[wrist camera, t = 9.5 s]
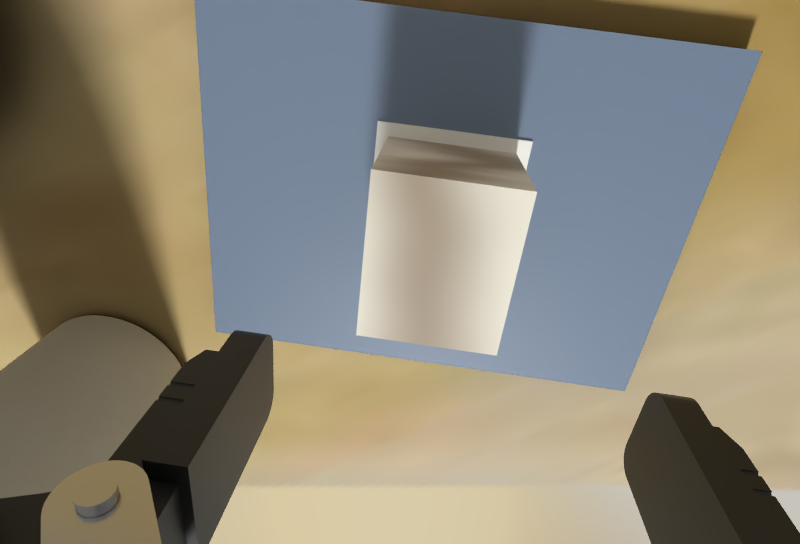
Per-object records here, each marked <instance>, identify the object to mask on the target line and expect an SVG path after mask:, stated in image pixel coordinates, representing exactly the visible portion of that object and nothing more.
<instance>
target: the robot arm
mask: <svg viewBox="0 0 800 544" xmlns="http://www.w3.org/2000/svg"><path fill="white" fill-rule="evenodd" d="M273 390H274V386H273V340H272V337H271V335H267V334H261V333H254V332H247V331H240V330H235V331H234V332H233V333H232V334H231V335H230V337H229V338H228V339H227V341H226V342H225V344H224V345H223V346H222V348H221V349H220V351H219V352H218V351H211V350H205V351H203V352H202V353H200V354H199V355H197V356H195V357H194V358H192V359H191V360H189V361H188V362H186V363H184V365H183V366H182V367H181V368H180V370H179V371H178V372H177V374H176V375H175V376H174V377H173V379H172V380H171V382H170V385H167V386H166V388H165V389H164V390H163V391H162V393H161V394H160V395H159V398H158V400H155V401H154V403H153V404H152V405H151V407H150V408H149V409H148V410H147V412H146V413H145V414H144V415H143V417H142V418H141V419H140V421H139V422H138V423H137V424H136V426H135V427H134V428H133V429H132V431H131V432H130V433H129V434H128V436H127V437H126V438H125V440H124V441H123V442H122V443H121V445H120V446H119V447H118V448H117V450H116V451H115V452H114V454H113V455H112V456H111V457H110V458H109V460H108V461H104V462H99V463H95V464H92V465H89V466H87V467H84V468H82V469H80V470H78V471H76V472H75V473H73V474H71V475H70V476H68V477H67V478H65V479H64V480H63V481H62V482H60V483H59V484H58V485H57V486H56V487H55V488H54V489H53V491H52V492H46V493H40V494H32V495H24V496H16V497H8V498H0V544H209V542H210V540H211V538H212V536H213V534H214V531H215V530H216V527H217V525H218V523H219V521H220V519H221V517H222V515H223V512H224V510H225V508H226V506H227V504H228V502H229V499H230V498H231V495H232V493H233V491H234V489H235V487H236V485H237V483H238V481H239V478H240V476H241V474H242V472H243V470H244V468H245V466H246V464H247V461H248V459H249V457H250V455H251V453H252V451H253V449H254V447H255V444H256V442H257V440H258V438H259V436H260V434H261V432H262V430H263V427H264V425H265V423H266V421H267V419H268V416H269V413H270V410H271V405H272V400H273ZM624 469H625V474H626V477H627V480H628V483H629V485H630V488H631V491H632V493H633V496H634V498H635V501H636V504H637V506H638V509H639V512H640V515H641V517H642V520H643V522H644V525H645V528H646V531H647V533H648V536H649V539H650V541H651V544H800V533H799V532H798V530H797V529H796V527H795V526H794V524H793V523H792V521H791V520H790V518H789V517H788V515H787V514H786V512H785V511H784V509H783V508H782V506H781V505H780V503H779V502H778V501H777V499H776V497H774V496H772V495H771V492H772V491H771V490H770V488H769V487H768V485H767V484H766V482H765V481H764V479H763V478H762V477H761V476H758V471H757V469H756V468H755V466H754V465H753V463H752V462H751V460H750V459H749V457H748V456H747V454H746V453H745V451H744V450H743V448H741V447H740V446H739V445H738V444H737V443H736V442H735V441H734V440H733V439H731V438H730V437H729V436H728V435H727V434H726V433H725V432H724V431H723V430H721V429H720V428H719V427H713V426H712V425H711V423H710V422H709V420H708V418H707V417H706V415H705V414H704V412H703V411H702V409H701V407H700V406H699V404H698V403H697V402H696V401H695V400H694V399H692V398H688V397H681V396H675V395H668V394H661V393H651V394H650V395H649V396H648V397H647V399H646V401H645V403H644V405H643V408H642V410H641V412H640V414H639V417H638V419H637V421H636V424H635V426H634V428H633V431H632V433H631V435H630V437H629V440H628V442H627V444H626V448H625V452H624Z"/></svg>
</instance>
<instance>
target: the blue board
mask: <svg viewBox="0 0 800 544" xmlns="http://www.w3.org/2000/svg"><path fill="white" fill-rule="evenodd" d="M195 14H196V29H197V45H198V61H199V76H200V92H201V107H202V123H203V139H204V154H205V170H206V185H207V201H208V217H209V232H210V248H211V264H212V279H213V295H214V310H215V326H216V332H222V333H229V334H232V333H233V332H234V331H235V330H240V331H247V332H254V333H261V334H267V335H271V337H272V340H277V341H284V342H290V343H297V344H304V345H311V346H318V347H325V348H332V349H339V350H345V351H352V352H359V353H366V354H373V355H380V356H387V357H394V358H400V359H407V360H414V361H421V362H428V363H435V364H442V365H448V366H455V367H462V368H469V369H476V370H483V371H490V372H497V373H503V374H510V375H517V376H524V377H531V378H538V379H545V380H552V381H558V382H565V383H572V384H579V385H586V386H593V387H600V388H607V389H613V390H620V391H625V389H626V387H627V385H628V382H629V380H630V377H631V375H632V372H633V370H634V367H635V365H636V362H637V360H638V357H639V355H640V352H641V350H642V348H643V345H644V343H645V340H646V338H647V335H648V333H649V330H650V328H651V325H652V323H653V320H654V318H655V315H656V313H657V310H658V308H659V306H660V303H661V301H662V298H663V296H664V293H665V291H666V288H667V286H668V283H669V281H670V278H671V276H672V273H673V271H674V269H675V266H676V264H677V261H678V259H679V256H680V254H681V251H682V249H683V246H684V244H685V241H686V239H687V236H688V234H689V231H690V229H691V227H692V224H693V222H694V219H695V217H696V214H697V212H698V209H699V207H700V204H701V202H702V199H703V197H704V194H705V192H706V190H707V187H708V185H709V182H710V180H711V177H712V175H713V172H714V170H715V167H716V165H717V162H718V160H719V157H720V155H721V152H722V150H723V148H724V145H725V143H726V140H727V138H728V135H729V133H730V130H731V128H732V125H733V123H734V120H735V118H736V115H737V113H738V111H739V108H740V106H741V103H742V101H743V98H744V96H745V93H746V91H747V88H748V86H749V83H750V81H751V78H752V76H753V73H754V71H755V69H756V66H757V64H758V61H759V59H760V56H761V54H762V51H756V50H748V49H740V48H732V47H725V46H717V45H709V44H701V43H693V42H685V41H677V40H669V39H661V38H653V37H645V36H638V35H630V34H622V33H614V32H606V31H598V30H590V29H582V28H574V27H566V26H558V25H550V24H543V23H535V22H527V21H519V20H511V19H503V18H495V17H487V16H479V15H471V14H463V13H456V12H448V11H440V10H432V9H424V8H416V7H408V6H400V5H392V4H384V3H376V2H368V1H361V0H195ZM389 136H390V137H397V138H405V139H412V140H420V141H427V142H434V143H442V144H449V145H457V146H464V147H472V148H479V149H486V150H494V151H501V152H509V153H516V154H517V155H518V157H519V159H520V161H521V163H522V165H523V166H524V168H525V170H526V172H527V174H528V176H529V177H530V179H531V181H532V183H533V185H534V187H535V189H536V190H537V195H536V199H535V203H534V207H533V211H532V215H531V219H530V223H529V227H528V231H527V235H526V239H525V244H524V248H523V252H522V256H521V260H520V264H519V268H518V272H517V276H516V280H515V284H514V288H513V292H512V296H511V300H510V304H509V308H508V312H507V316H506V320H505V324H504V328H503V332H502V336H501V340H500V344H499V348H498V352H497V356H495V355H488V354H482V353H475V352H468V351H461V350H454V349H447V348H440V347H433V346H427V345H420V344H413V343H406V342H399V341H392V340H385V339H378V338H372V337H365V336H358V335H356V331H357V319H358V308H359V297H360V286H361V275H362V264H363V252H364V241H365V230H366V219H367V208H368V197H369V186H370V174H371V168H372V166H373V164H374V163H375V161H376V159H377V157H378V155H379V153H380V152H381V150H382V148H383V146H384V144H385V142H386V140H387V139H388V137H389Z"/></svg>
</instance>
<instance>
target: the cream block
mask: <svg viewBox="0 0 800 544" xmlns="http://www.w3.org/2000/svg"><path fill="white" fill-rule="evenodd" d="M536 195H537V190H536V189H535V187H534V185H533V183H532V181H531V179H530V177H529V176H528V174H527V172H526V170H525V168H524V166H523V165H522V163H521V161H520V159H519V157H518V155H517V154H516V153H509V152H501V151H494V150H486V149H479V148H472V147H464V146H457V145H449V144H442V143H434V142H427V141H420V140H412V139H405V138H397V137H390V136H389V137H388V139H387V140H386V142H385V144H384V146H383V148H382V150H381V152H380V153H379V155H378V157H377V159H376V161H375V163H374V164H373V166H372V168H371V174H370V186H369V197H368V208H367V219H366V230H365V241H364V252H363V264H362V275H361V286H360V297H359V308H358V319H357V331H356V335H358V336H365V337H372V338H378V339H385V340H392V341H399V342H406V343H413V344H420V345H427V346H433V347H440V348H447V349H454V350H461V351H468V352H475V353H482V354H488V355H495V356H497V352H498V348H499V344H500V340H501V336H502V332H503V328H504V324H505V320H506V316H507V312H508V308H509V304H510V300H511V296H512V292H513V288H514V284H515V280H516V276H517V272H518V268H519V264H520V260H521V256H522V252H523V248H524V244H525V239H526V235H527V231H528V227H529V223H530V219H531V215H532V211H533V207H534V203H535V199H536Z"/></svg>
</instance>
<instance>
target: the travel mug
mask: <svg viewBox="0 0 800 544" xmlns="http://www.w3.org/2000/svg"><path fill="white" fill-rule="evenodd" d="M180 368H181V365H180V363H179V362H178V360H177V359H176V357H175V356H174V355H173V354H172V352H171V351H170V350H169V349H168V348H167V347H166V346H165V345H164V344H163V343H162V342H161V341H159V340H158V339H157V338H156V337H154V336H153V335H152V334H150V333H149V332H147V331H145V330H144V329H142V328H140V327H138V326H136V325H134V324H132V323H129V322H126V321H124V320H120V319H117V318H113V317H108V316H99V315H89V316H81V317H76V318H73V319H70V320H68V321H66V322H64V323H62V324H61V325H59V326H58V327H57V328H55V329H54V330H53V331H51V332H50V333H49V334H48V335H46V336H45V337H44V338H42V339H41V340H40V341H38V342H37V343H36V344H35V345H33V346H32V347H31V348H29V349H28V350H27V351H25V352H24V353H23V354H22V355H20V356H19V357H18V358H16V359H15V360H14V361H12V362H11V363H10V364H9V365H7V366H6V367H5V368H3V369H2V370H1V371H0V498H8V497H16V496H24V495H32V494H40V493H46V492H52V491H53V489H54V488H55V487H56V486H57V485H58V484H59V483H60V482H62V481H63V480H64V479H65V478H67V477H68V476H70V475H71V474H73V473H75V472H76V471H78V470H80V469H82V468H84V467H87V466H89V465H92V464H95V463H99V462H104V461H108V460H109V458H110V457H111V456H112V455H113V454H114V452H115V451H116V450H117V448H118V447H119V446H120V445H121V443H122V442H123V441H124V440H125V438H126V437H127V436H128V434H129V433H130V432H131V431H132V429H133V428H134V427H135V426H136V424H137V423H138V422H139V421H140V419H141V418H142V417H143V415H144V414H145V413H146V412H147V410H148V409H149V408H150V407H151V405H152V404H153V403H154V401H155V400H158V398H159V395H160V394H161V393H162V391H163V390H164V389H165V388H166V386H167V385H170V382H171V380H172V379H173V377H174V376H175V375H176V374H177V372H178V371H179V370H180Z"/></svg>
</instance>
